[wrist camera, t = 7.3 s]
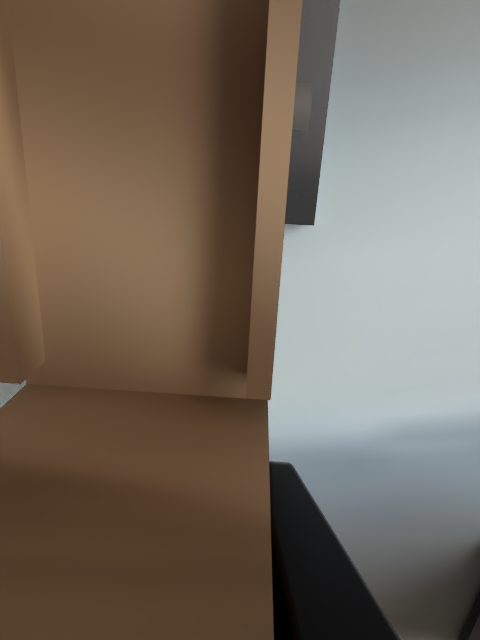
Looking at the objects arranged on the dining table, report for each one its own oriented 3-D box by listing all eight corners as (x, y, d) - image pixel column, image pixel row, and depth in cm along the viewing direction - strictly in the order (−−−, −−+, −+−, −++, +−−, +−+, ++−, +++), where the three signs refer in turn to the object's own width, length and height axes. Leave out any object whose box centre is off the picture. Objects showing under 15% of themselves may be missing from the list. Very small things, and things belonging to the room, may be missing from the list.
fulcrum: (312, 221, 11) (323, 248, 9) (54, 207, 11) (5, 230, 9) (341, -33, 9) (365, -76, 7) (19, -46, 9) (-55, -91, 7)
